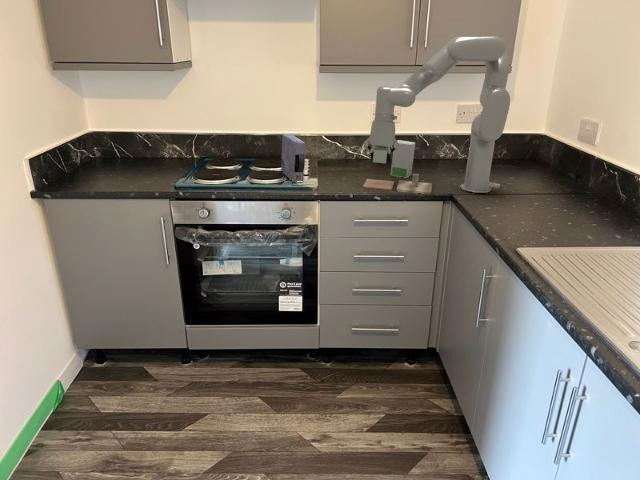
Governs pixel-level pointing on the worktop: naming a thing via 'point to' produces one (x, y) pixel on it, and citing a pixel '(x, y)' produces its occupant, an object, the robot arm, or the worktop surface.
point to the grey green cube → (380, 155)
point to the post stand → (414, 186)
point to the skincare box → (403, 159)
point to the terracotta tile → (378, 184)
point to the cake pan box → (293, 157)
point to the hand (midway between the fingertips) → (380, 161)
